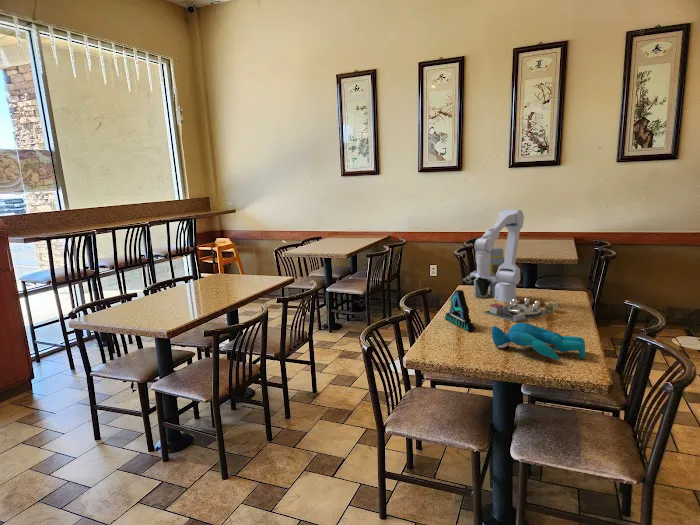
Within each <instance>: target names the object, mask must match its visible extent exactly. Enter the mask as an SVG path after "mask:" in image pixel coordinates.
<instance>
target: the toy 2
mask: <svg viewBox="0 0 700 525" xmlns="http://www.w3.org/2000/svg"><path fill="white" fill-rule="evenodd" d="M491 338H492V342H493V344H494V346H495V347H496V348H499V349H506V348H508V347H509V346H510V344H511V343H512V344H514V345H517V346H522V347H527V346H528V347H529V346H531V348H533V349H534V350H535V351H536V352H537V353H539V354H540V355H542V356H545V357H548V358H550V359H553V360H557V361H559V360H560V357H559V355H558V354H557V353H556V352H555V350H556V351H558V352H561V353H566V352H567V353H568V352H570V351H571V352H573V351H575V352H577V351H578V356H579V358H580V359H582V360H584V359H585V354H586V344H585V343H586V341H585V339H584V338H583V337H581V336H573V335H572V336H570V335H568V336H566V335H561V334H560V333H558V332H554V331H550V330H549V329H547V328H543V327H539V326H536V325H533V324H531V323H527V322H518V323H515V324H513V325H512V326H511V327H510V328H509V331H508V332H507V333H505V332H504V330H502V329H501V328H500V327H498V326H495V325H493V326H492V328H491ZM550 345H551V346H552V345H553V346H554V347H553V348H552V347H551V346H550Z"/></svg>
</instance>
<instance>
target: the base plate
mask: <svg viewBox="0 0 700 525" xmlns="http://www.w3.org/2000/svg"><path fill="white" fill-rule="evenodd" d="M509 306H510V305H506V306H503V314H502V315H498V316H497V315H494V314H490V309H489V310H487V311H483V310H482V311H481V314H482V313H483V314H486V315H489V316H493V317H495V318H499V319H502V320H505V321H509V322H512V323H515V324H517V323H522V322H525V321H528V320H532V319H535V318H539V317H543V316H546V315H550V314H554V313H553V312H549V311H546V310H545V309H542V313H541V314H538V315H533V316H525V314H523V313H521V314H517V315H516V314H512V313H510V312H508V307H509Z"/></svg>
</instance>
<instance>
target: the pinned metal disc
mask: <svg viewBox="0 0 700 525" xmlns="http://www.w3.org/2000/svg"><path fill="white" fill-rule="evenodd" d="M517 300H518V299H517V298H516V299H512V302H510V303H509V305H508V306H509V307H508V312H510V313H512V314H516V315H517V314H521V313H523V314H525V316H533V315H538V314H541V313H542V310H543V309H542V307H540V305H541V304H540V303H541V302H540V301H539V300H534V303H532V304H530V298H528V297H527V298H524V303H517Z"/></svg>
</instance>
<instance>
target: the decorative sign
mask: <svg viewBox="0 0 700 525" xmlns="http://www.w3.org/2000/svg"><path fill="white" fill-rule="evenodd" d="M469 313H470V310H469V306H468V305H467V299H466V296H465V291H464V290H463V289H456V290H455V289H454V293H453V294H452V295H451V297H450V308H449V312H446V314H445V316H444V320H445V321H447V322H449V323H451V325H454V326H456V327H458V328H460V329H461V328H462V329H461V330H463V329H464V330H463V331H465V330H466V332H467V331H468V332H467V333H472V332H473V331H474V332H475V326H474V323H473V322H472V320H471V318H470V315H469ZM474 332H473V333H474Z"/></svg>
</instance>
